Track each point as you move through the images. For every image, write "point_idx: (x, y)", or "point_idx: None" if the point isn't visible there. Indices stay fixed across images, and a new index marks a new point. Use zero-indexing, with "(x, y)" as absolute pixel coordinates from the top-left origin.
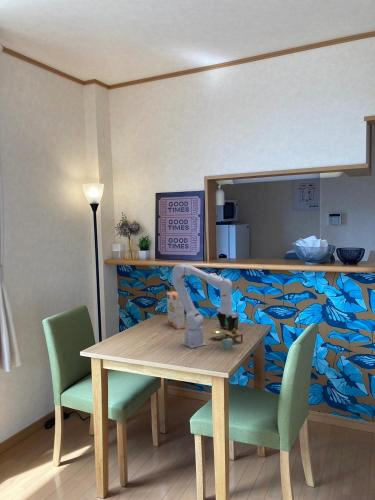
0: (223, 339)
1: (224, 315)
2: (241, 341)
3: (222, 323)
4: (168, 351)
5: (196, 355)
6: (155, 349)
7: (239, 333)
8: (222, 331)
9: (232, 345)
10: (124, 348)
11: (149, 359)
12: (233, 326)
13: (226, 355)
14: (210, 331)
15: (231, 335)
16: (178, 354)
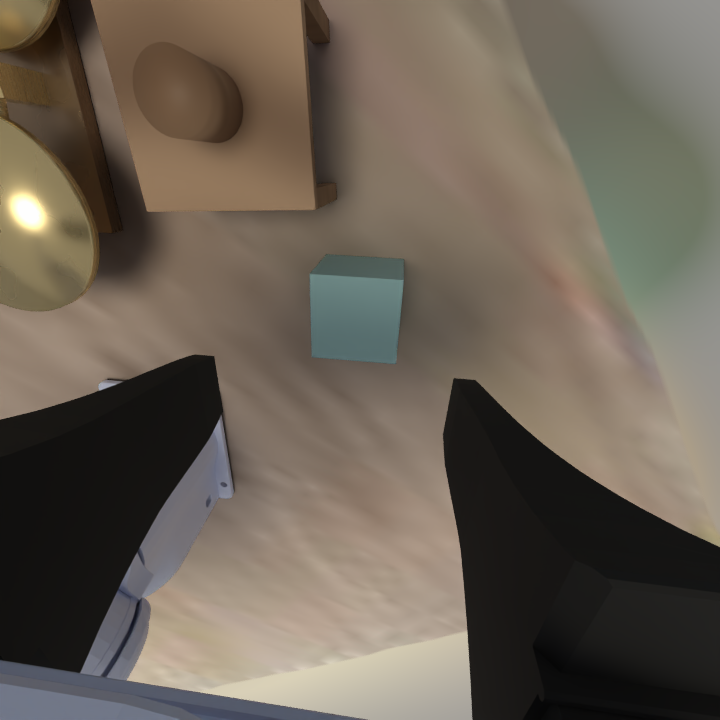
0: (313, 337)
1: (22, 520)
2: (322, 38)
3: (184, 429)
4: (223, 581)
5: (370, 533)
6: (164, 598)
7: (262, 14)
8: (50, 183)
9: (403, 266)
10: None
11: (285, 659)
12: (505, 418)
13: (515, 416)
14: (15, 307)
15: (284, 209)
16: (295, 576)
